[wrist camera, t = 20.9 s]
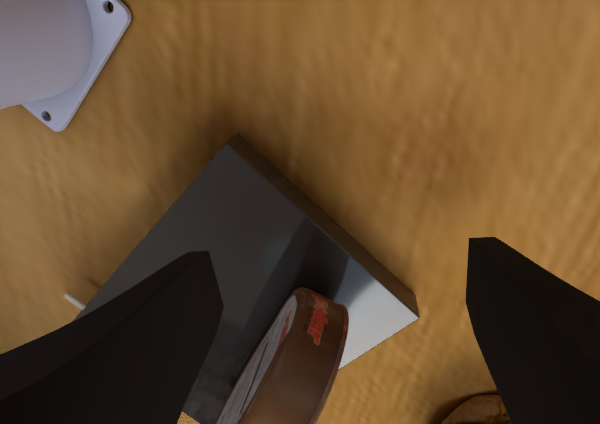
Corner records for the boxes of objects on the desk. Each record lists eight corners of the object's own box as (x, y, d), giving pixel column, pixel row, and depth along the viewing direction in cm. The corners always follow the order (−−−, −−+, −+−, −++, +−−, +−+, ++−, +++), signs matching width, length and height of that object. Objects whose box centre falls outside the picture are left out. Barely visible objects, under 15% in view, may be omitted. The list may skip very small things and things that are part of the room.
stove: (59, 308, 28) (36, 330, 26) (217, 113, 20) (202, 123, 18) (223, 424, 31) (214, 451, 29) (415, 295, 23) (421, 320, 21)
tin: (250, 426, 28) (209, 577, 20) (209, 407, 27) (152, 554, 20) (356, 275, 21) (354, 418, 13) (304, 249, 21) (271, 380, 13)
